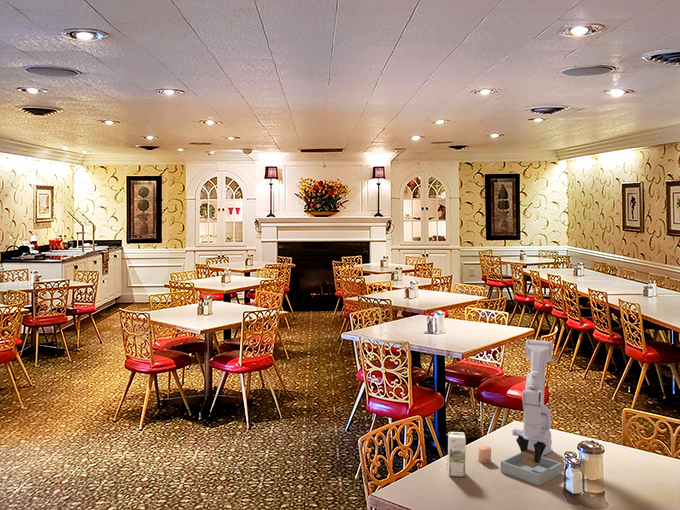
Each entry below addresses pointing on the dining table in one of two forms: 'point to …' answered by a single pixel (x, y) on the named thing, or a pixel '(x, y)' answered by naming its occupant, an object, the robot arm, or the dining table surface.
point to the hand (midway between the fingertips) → (531, 459)
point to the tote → (531, 469)
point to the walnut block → (529, 458)
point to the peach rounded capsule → (484, 455)
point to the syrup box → (456, 454)
